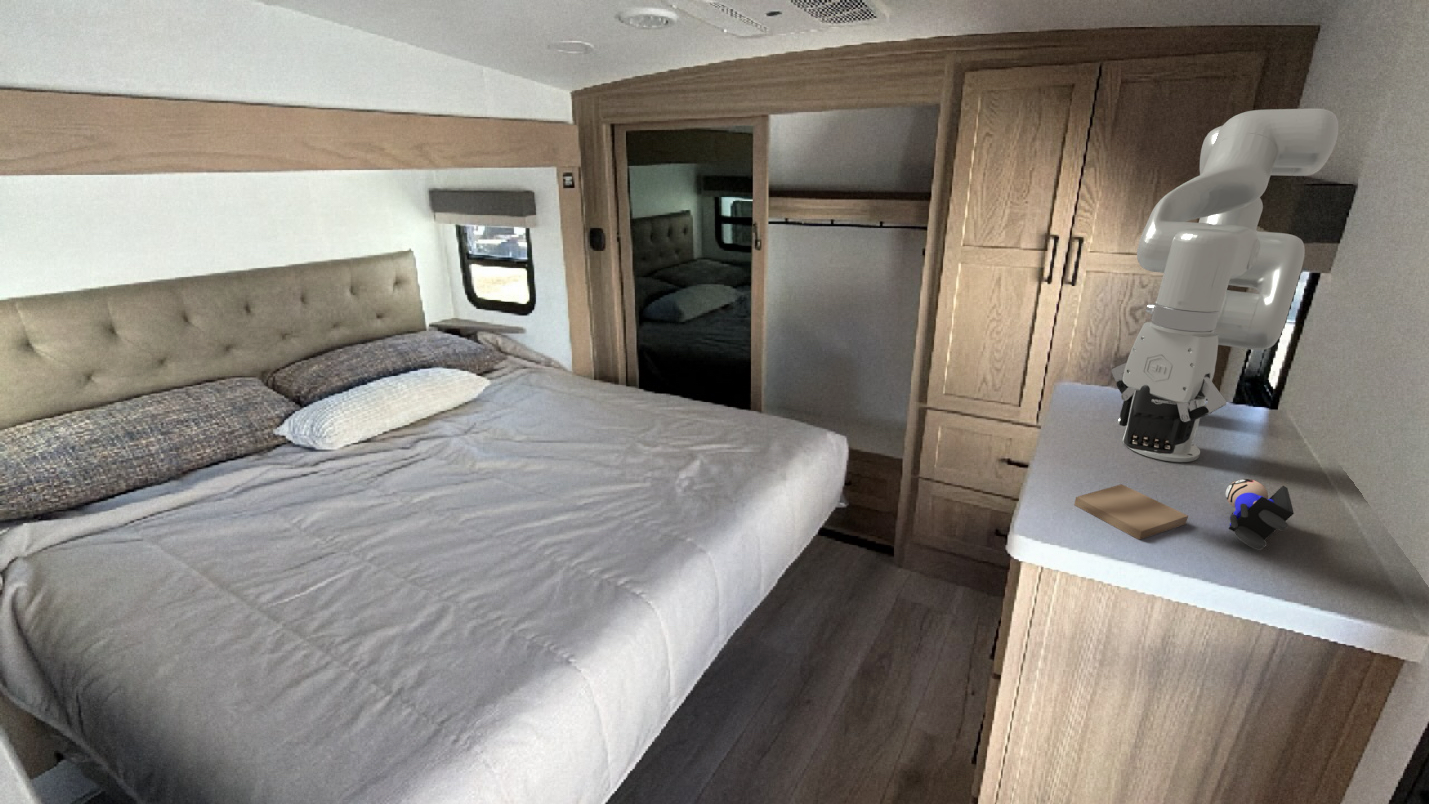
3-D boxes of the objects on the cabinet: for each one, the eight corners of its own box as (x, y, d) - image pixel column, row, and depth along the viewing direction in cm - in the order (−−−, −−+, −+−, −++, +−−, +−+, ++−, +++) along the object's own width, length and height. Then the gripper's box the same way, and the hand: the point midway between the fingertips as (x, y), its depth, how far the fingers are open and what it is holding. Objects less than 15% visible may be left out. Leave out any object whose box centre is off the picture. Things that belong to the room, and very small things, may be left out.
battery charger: (1124, 450, 97) (1143, 380, 93) (1120, 440, 100) (1138, 372, 96) (1178, 458, 95) (1200, 387, 90) (1172, 448, 98) (1193, 378, 94)
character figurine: (1220, 548, 94) (1221, 507, 105) (1285, 563, 90) (1279, 518, 101) (1231, 501, 91) (1231, 464, 103) (1299, 514, 87) (1290, 473, 98)
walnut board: (1074, 504, 104) (1076, 496, 104) (1119, 491, 109) (1121, 484, 108) (1139, 539, 95) (1141, 531, 95) (1185, 524, 99) (1188, 515, 99)
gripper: (1109, 308, 96) (1083, 416, 103) (1235, 336, 81) (1195, 461, 88) (1141, 304, 99) (1114, 410, 105) (1269, 331, 84) (1228, 452, 91)
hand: (1151, 432), depth 97 cm, fingers closed on battery charger, 7 cm apart
